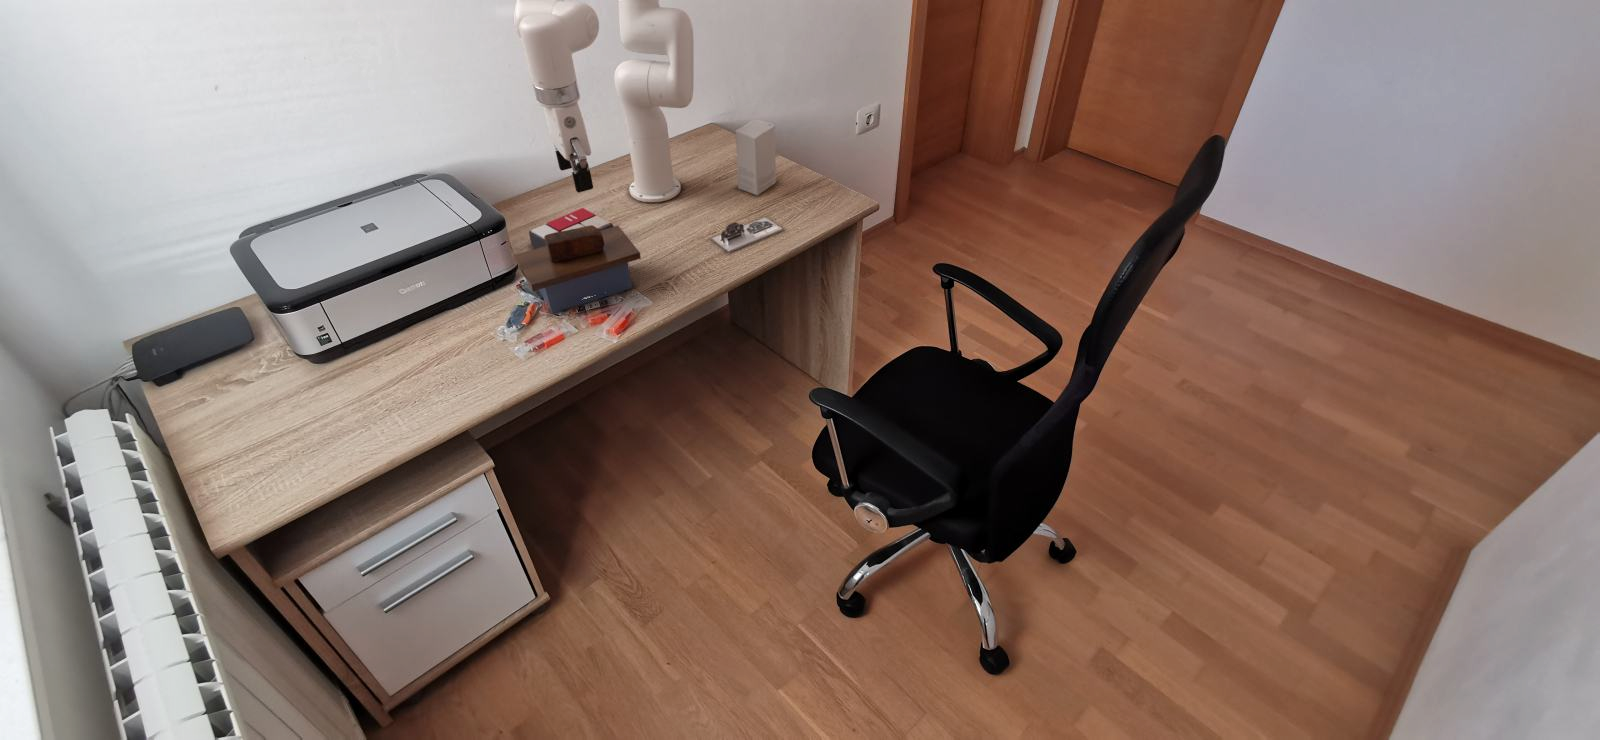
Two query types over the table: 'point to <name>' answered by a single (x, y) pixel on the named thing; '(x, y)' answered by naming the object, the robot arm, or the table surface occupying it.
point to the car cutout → (745, 233)
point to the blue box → (587, 288)
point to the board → (576, 261)
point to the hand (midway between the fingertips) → (576, 179)
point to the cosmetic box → (756, 156)
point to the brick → (574, 243)
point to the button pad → (567, 225)
